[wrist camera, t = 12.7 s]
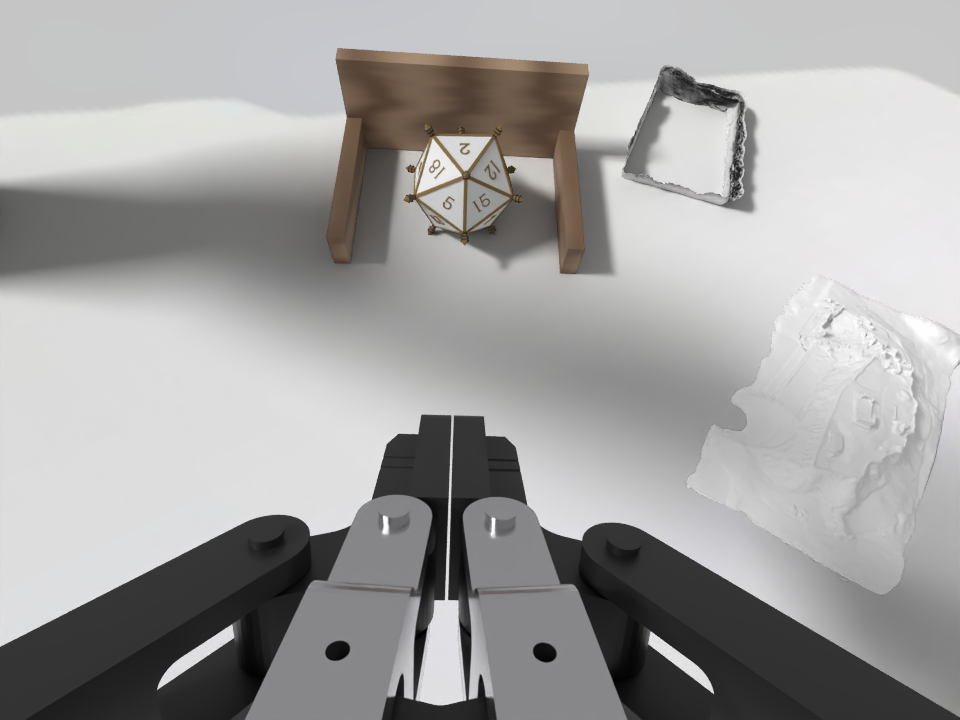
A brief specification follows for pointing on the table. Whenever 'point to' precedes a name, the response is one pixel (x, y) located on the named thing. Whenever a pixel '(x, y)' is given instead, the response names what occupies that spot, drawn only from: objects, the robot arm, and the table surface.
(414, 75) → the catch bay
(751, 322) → the table surface
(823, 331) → the terrain model
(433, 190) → the game die
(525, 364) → the table surface
